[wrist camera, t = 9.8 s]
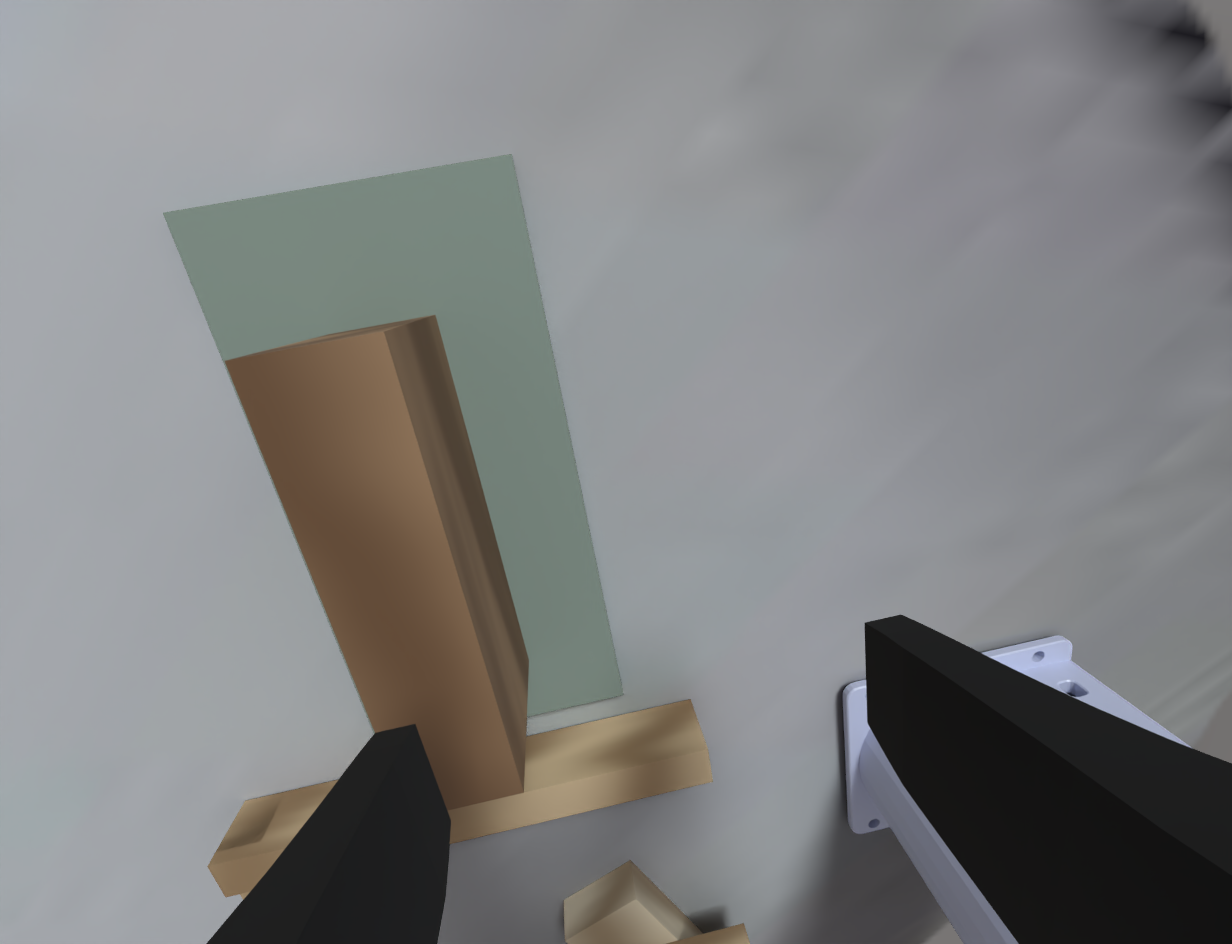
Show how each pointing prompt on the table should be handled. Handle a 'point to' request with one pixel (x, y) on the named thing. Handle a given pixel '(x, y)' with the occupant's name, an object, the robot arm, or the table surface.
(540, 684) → the rubber mat
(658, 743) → the oak rack
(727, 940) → the offcut top
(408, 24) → the table surface
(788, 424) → the table surface
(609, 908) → the offcut low
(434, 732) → the tall brown wooden post
